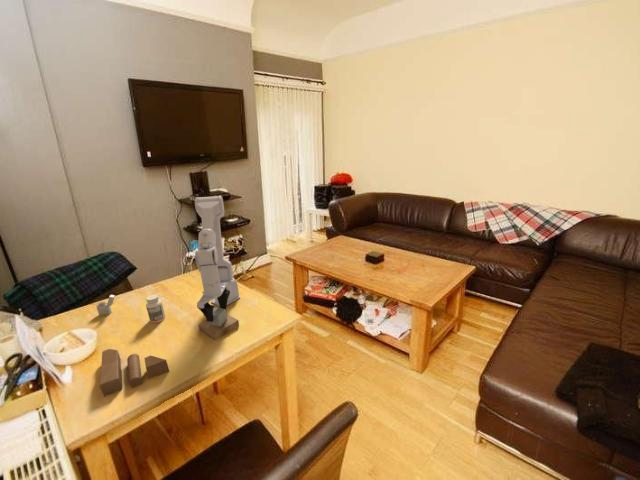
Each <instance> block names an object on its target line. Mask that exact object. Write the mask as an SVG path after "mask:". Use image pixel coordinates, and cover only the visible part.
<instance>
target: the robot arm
mask: <svg viewBox="0 0 640 480" xmlns="http://www.w3.org/2000/svg"><path fill="white" fill-rule="evenodd" d="M224 205H225V204H224V199H223V196H222V195H215V196H202V197H201V196H200V197H197V196H196V197H195V199H194V207H195V211H196V213H197V215H198V216H199V217H200V218H201V229H202V230H200V231H199V232H198V243H197V244H198V246H197V250H196V251H195V254H194V259H195V264H196V266H197V270H198V272H200V278H201V282H202V288H203V291H202V296H201V297H200V299H199V300H198V301H197V302H196V307H197V309H198V310H199V311H200V312H201V313H202V314H203V316H204V318H205V320H207V321H209V322H213V309H214V308H215V305H216V306H218V307H219V308H222V309H226V310H227V309H228V308H227V307H228V305H230V304H233V302H236V301H238V300H239V299H241V296H240V292H239V285H238V281H237V279H235V278H234V271H233V270H234V269H233V265H232V262H231V261H230V260H228V259H226V258H225V257H224V248H223V240H222V231H221V219H222V218H223V217H225V214H226V213H225V206H224ZM210 303H212V304H213V305H212V304H210Z"/></svg>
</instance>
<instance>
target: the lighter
mask: <svg viewBox="0 0 640 480" xmlns="http://www.w3.org/2000/svg"><path fill="white" fill-rule="evenodd" d="M115 297H116V295H115V294H110V295H109V297H108V300H107V303H106V301H100V302H99V303H98V304H97V305H96V310H97V312H98V316H99V315H101V316H108V314H110V315H111V314H112V313H113V311H112V308H111V306H112V305H113V304H114V300H115Z"/></svg>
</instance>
